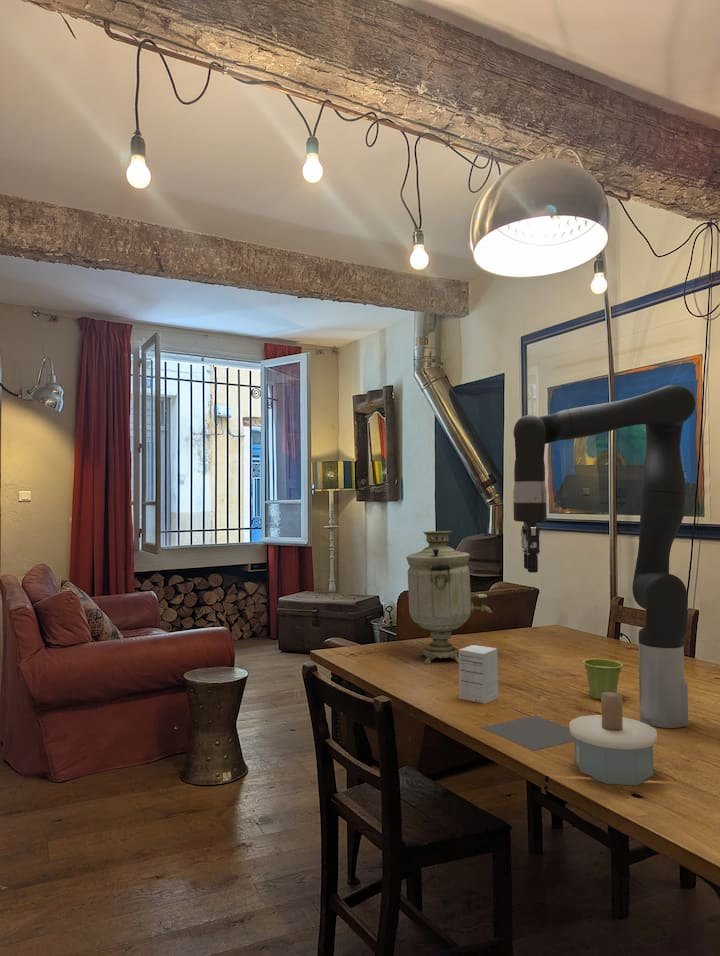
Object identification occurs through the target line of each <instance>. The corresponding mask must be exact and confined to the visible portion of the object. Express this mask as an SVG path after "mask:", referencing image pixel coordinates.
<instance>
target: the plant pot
mask: <svg viewBox="0 0 720 956" xmlns="http://www.w3.org/2000/svg"><path fill="white" fill-rule="evenodd" d="M582 664H583V665H584V668H585V671H586V675H587V676H586V677H587V683H588V690H589V692H588V693H589V696H590V697H591V698H592V699H594V700H597V699H599V700H601V693H603V692H614V693H618V686H619V685H618V684H619V679H620V674H621V670H622V668H623V666H624V665H623V663H621V662H619V661H617V660H612V659H608V658H607V659H605V658H604V659H603V658H588V659H584V660H583V661H582Z"/></svg>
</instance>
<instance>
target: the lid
mask: <svg viewBox="0 0 720 956" xmlns="http://www.w3.org/2000/svg"><path fill="white" fill-rule="evenodd" d="M600 700H601V701H600V703H601V709H600V710H601V714H597V715H596V714H592V715H591V714H590V715H581V716H578V717H574V718H572V719H571V720H570V721H569V727H568V728H569V731H570V734H571V735H572V736H573V737H575V738H576V739H578V740H580V741H583V742H585V743H588V744H592V745H595V746H600V747H605V748H613V749H642V748H647V747H650V746H652V745H653V746H655V745H656V743H657V742H658V732H657V730H656V728H654V726H652V725H649V724H646V723H644V722H642V721H641V720H640V721H639V720H637V719H632V718H628V717H624V716H623V695H622V694H621V693H618V692H617V693H614V692H603V693H601V699H600Z"/></svg>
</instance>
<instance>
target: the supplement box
mask: <svg viewBox="0 0 720 956" xmlns="http://www.w3.org/2000/svg"><path fill="white" fill-rule="evenodd" d="M498 656H499V655H498V648H496V647H491V646H490V647H489V646H483V645H476V644H471V645H469V646H466V647H463V648H460V649H458V658H459V663H458V698H459V700H466V701H470V702H475V703H480V704H483V705H484V704H487V703H489V702H491V701H495V700H498V699H499V672H498V671H499V668H498V663H499V662H498V659H499V658H498Z"/></svg>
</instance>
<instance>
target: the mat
mask: <svg viewBox="0 0 720 956" xmlns="http://www.w3.org/2000/svg"><path fill="white" fill-rule="evenodd" d="M480 729H482V730H485V731H488V732H490V733H492V734H494V735H496V736H498V737H501V738H504V739H505V740H507V741H511V742H512V743H515V744H517V745H518V746H522V747H524V748H526V749H528V750H531V751H533V752H536V751H540V750H544V749H548V748H551V747H556V746H560V745H561V746H562V745H564V744H568V743H572V742H575V737H573V736H572V735H571V734H570V731H569V727H566V726H564V725H561V724H559V723H556V722H553V721H550V720H549V719H546V718H542V717H540V716H537V715H533V716H527V717H523V718H519V719H513V720H509V721H503V722H501V723H495V724H490V725H485V726H481V727H480Z"/></svg>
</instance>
